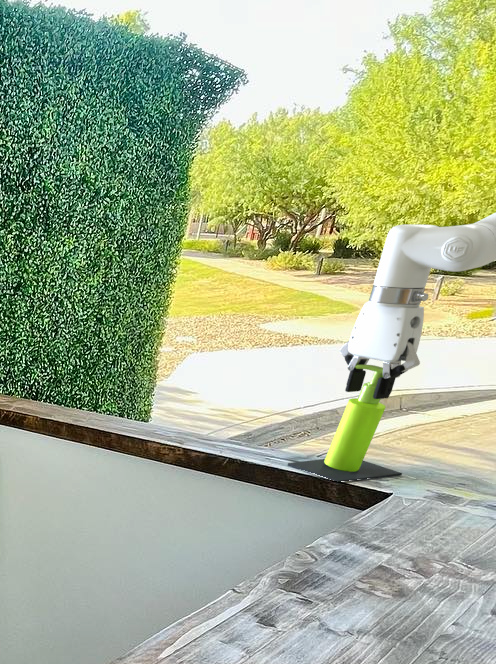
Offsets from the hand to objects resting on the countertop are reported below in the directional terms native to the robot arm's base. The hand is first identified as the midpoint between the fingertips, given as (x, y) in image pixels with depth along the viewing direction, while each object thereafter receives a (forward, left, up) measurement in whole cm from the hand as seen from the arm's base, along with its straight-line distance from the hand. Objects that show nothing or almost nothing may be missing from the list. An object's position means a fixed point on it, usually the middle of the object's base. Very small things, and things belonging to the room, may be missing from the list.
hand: (366, 393), depth 146 cm
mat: (0, 0, -16) cm, 16 cm away
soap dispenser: (0, -1, -15) cm, 15 cm away
